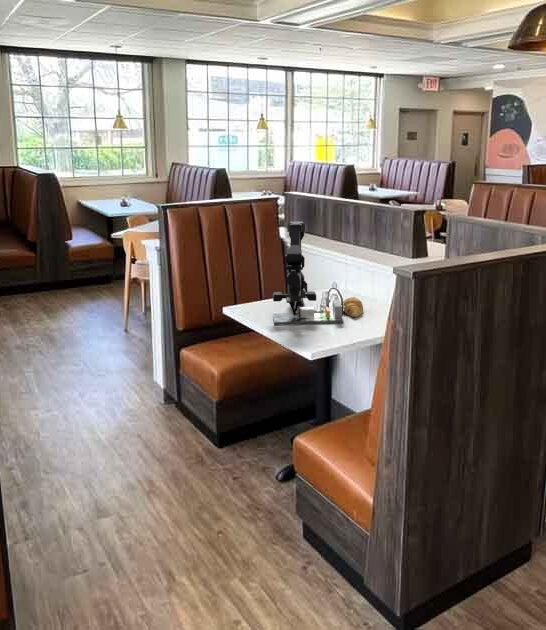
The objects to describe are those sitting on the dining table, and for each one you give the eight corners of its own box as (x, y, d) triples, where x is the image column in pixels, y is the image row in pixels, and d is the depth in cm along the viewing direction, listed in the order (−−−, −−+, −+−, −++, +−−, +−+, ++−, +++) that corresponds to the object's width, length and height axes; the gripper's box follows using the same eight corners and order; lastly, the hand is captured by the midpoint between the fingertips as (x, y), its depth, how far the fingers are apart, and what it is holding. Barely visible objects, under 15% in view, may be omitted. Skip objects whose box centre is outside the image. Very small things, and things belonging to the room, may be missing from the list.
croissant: (361, 326, 278) (370, 311, 276) (341, 316, 277) (350, 301, 274) (354, 311, 298) (362, 297, 296) (335, 302, 297) (343, 287, 295)
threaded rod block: (298, 314, 279) (298, 307, 278) (322, 314, 279) (322, 306, 278) (298, 317, 275) (298, 309, 274) (323, 317, 275) (323, 309, 274)
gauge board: (273, 316, 283) (273, 300, 281) (339, 314, 284) (339, 299, 282) (274, 325, 271) (273, 309, 269) (343, 323, 271) (343, 307, 269)
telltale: (325, 313, 280) (325, 306, 279) (328, 313, 280) (328, 306, 279) (327, 317, 274) (327, 311, 273) (329, 317, 274) (329, 311, 273)
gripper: (273, 285, 264) (273, 321, 269) (317, 285, 264) (317, 320, 269) (272, 279, 275) (273, 313, 279) (315, 278, 275) (314, 312, 280)
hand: (294, 315), depth 277 cm, fingers closed
